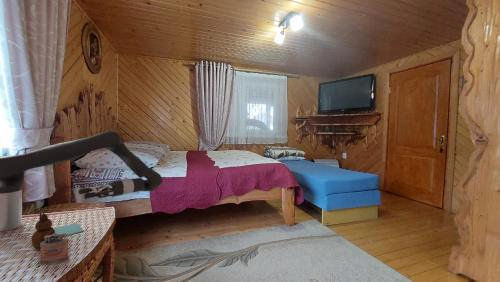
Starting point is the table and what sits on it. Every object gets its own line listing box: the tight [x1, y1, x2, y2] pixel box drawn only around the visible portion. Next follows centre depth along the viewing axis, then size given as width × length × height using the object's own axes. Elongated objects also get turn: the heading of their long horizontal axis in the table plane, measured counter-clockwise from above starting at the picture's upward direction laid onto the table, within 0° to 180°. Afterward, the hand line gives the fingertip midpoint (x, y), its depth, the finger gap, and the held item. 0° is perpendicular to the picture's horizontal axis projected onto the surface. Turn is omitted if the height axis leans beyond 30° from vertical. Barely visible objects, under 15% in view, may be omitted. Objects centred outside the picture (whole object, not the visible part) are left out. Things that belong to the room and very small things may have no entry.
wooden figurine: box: [31, 211, 55, 251], centre depth 88 cm, size 7×6×15 cm
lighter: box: [39, 233, 70, 266], centre depth 80 cm, size 8×3×10 cm, turn 114°
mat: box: [52, 222, 85, 237], centre depth 102 cm, size 12×11×1 cm
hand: (81, 193), depth 97 cm, fingers open, 8 cm apart
